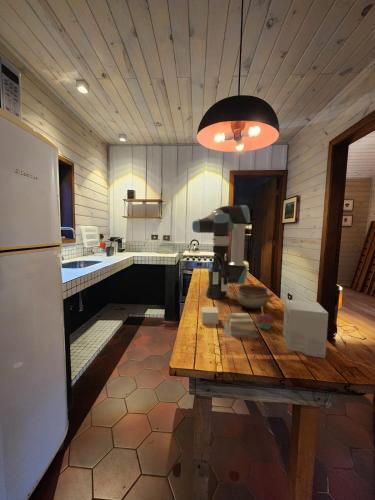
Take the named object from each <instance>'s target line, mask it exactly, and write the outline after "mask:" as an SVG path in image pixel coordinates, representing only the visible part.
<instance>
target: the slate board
mask: <svg viewBox="0 0 375 500" xmlns="http://www.w3.org/2000/svg"><path fill="white" fill-rule="evenodd" d="M222 326H223V330H224V332H225V335H226V337H227V338H230V337H231V338H260V336H259V335H258V333H257V332H256V329H253V335H231V334H230V332H229V329H228V326H227V322H222Z"/></svg>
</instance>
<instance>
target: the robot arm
mask: <svg viewBox="0 0 375 500" xmlns="http://www.w3.org/2000/svg"><path fill="white" fill-rule="evenodd" d="M249 209H250V207H248V205H242V204H240V205H239V204H237V205H224V206H221V207H217V208H215V209H214V210H213V211H212V212H211V213H209V214H208V215H206V216H205V217H203V218H196V219H194V220H193V221H192V224H191V226H192V227H191V228H192V231H193V232H194V233H196V234H197V233H198V234H207V233H208V234H213V238H212V242H213V243H212V244H213V246H212V252H213V260H212V264H211V265H210V266H208V267H209V268H208V286H207V289H206V292H205V296H206V297H207V298H208V297H209V299H212V300H223V299H227V297H228V293H227V292H228V284H234V285H245V283H246V282H247V281H246V280H247V278H248V267H246V264H245V263H244V260H245V259H244V257H245V256H244V255H245V254H244V253H245V235H246V234H245V233H246V228H247V226H248V224H249V223H251V213H250V210H249ZM230 233H231V243H230V244H231V248H230V249H231V250H230V262H229V255H226V254H228V253H229V242H230Z"/></svg>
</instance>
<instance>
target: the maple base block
mask: <svg viewBox="0 0 375 500" xmlns="http://www.w3.org/2000/svg"><path fill="white" fill-rule="evenodd" d="M226 323H227V326H228V329H229V332H230V334H231V335H253V329H254V326H255V323H254V320H253V319H252V317H251V316H250V314H249V313H248V312H247V313H246V312H227V313H226ZM254 330H255V329H254Z"/></svg>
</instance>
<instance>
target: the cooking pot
mask: <svg viewBox="0 0 375 500" xmlns="http://www.w3.org/2000/svg"><path fill="white" fill-rule="evenodd" d="M268 291H269V290H268V288H267V287H265V286H260V285H255V284H240V285H238V286H237V292H236V293H234V292H231V295H232V296H234V297H235V298H236V300H237V302H238V303H239V304H240V305H241V306H243V307H244V308H246V309H248V310H251V311H253V310H258V309H262V308H261V306H263V307H265V306H266V305H267V304H268V302H269V299H271V298H273V297H274V294H268Z"/></svg>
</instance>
